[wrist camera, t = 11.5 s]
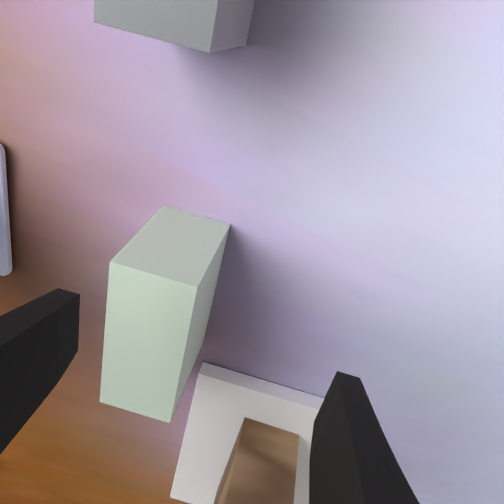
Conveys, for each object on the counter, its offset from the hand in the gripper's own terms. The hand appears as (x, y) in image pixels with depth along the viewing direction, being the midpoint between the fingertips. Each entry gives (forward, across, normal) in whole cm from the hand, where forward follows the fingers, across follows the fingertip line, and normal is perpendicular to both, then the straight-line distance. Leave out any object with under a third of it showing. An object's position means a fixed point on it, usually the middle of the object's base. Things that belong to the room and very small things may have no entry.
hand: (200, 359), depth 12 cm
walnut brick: (+9, -4, +17) cm, 20 cm away
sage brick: (+10, +3, +5) cm, 12 cm away
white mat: (+10, -4, +17) cm, 20 cm away
